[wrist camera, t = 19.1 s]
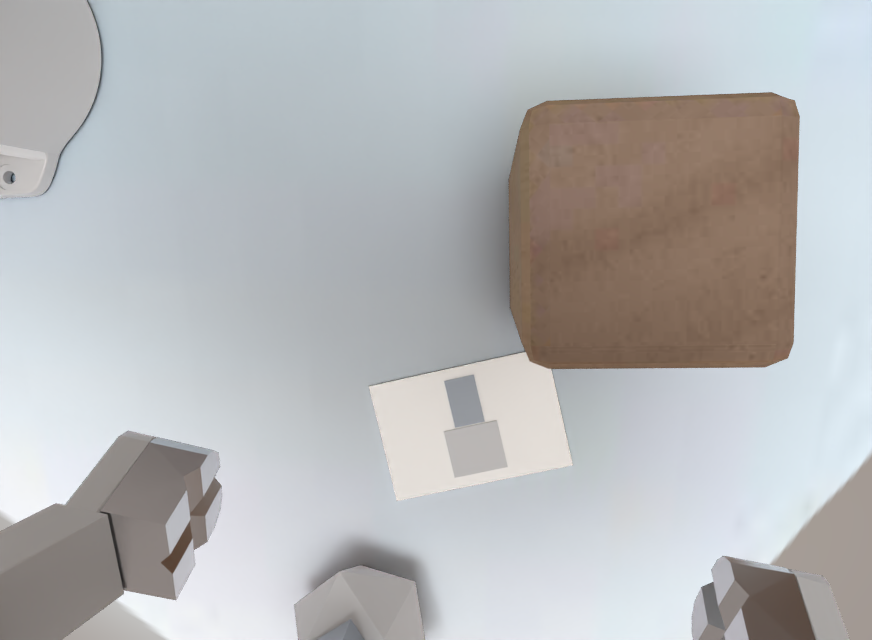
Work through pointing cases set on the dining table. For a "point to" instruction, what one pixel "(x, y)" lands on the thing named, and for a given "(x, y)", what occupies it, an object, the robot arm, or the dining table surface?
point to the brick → (343, 632)
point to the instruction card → (470, 425)
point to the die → (362, 606)
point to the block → (655, 231)
